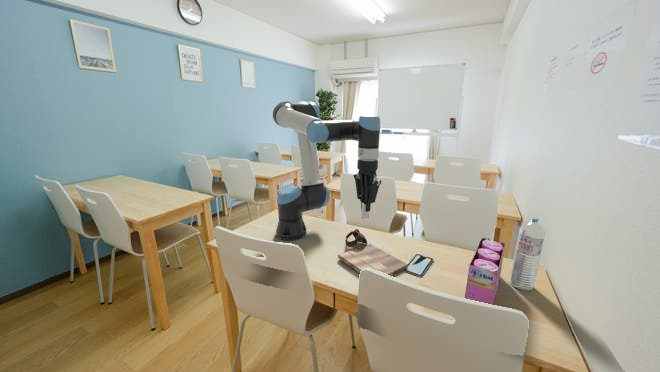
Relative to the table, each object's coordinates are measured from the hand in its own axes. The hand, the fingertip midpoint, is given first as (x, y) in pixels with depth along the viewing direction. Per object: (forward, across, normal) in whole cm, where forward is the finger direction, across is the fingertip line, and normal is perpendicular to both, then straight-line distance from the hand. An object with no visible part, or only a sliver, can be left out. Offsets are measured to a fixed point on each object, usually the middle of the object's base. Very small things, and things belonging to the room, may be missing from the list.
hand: (365, 218), depth 106 cm
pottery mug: (+19, -11, +6) cm, 23 cm away
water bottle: (+18, +45, +32) cm, 59 cm away
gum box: (+18, +38, +20) cm, 47 cm away
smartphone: (+19, +16, +15) cm, 29 cm away
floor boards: (+19, +4, +6) cm, 20 cm away
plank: (+18, +4, -4) cm, 19 cm away
